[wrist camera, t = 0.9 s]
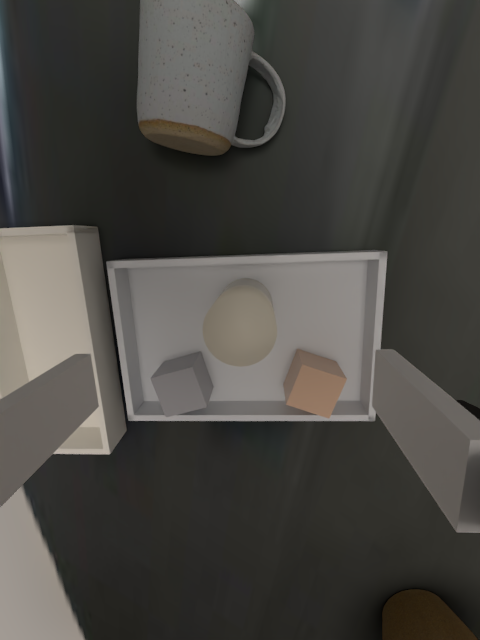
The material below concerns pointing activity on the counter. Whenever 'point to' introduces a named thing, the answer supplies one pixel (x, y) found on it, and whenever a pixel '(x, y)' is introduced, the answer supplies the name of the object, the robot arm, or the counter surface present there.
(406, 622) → the plant pot
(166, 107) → the ceramic mug
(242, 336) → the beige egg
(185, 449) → the counter surface
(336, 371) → the orange cube
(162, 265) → the tray
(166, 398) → the gray cube
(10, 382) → the bin
